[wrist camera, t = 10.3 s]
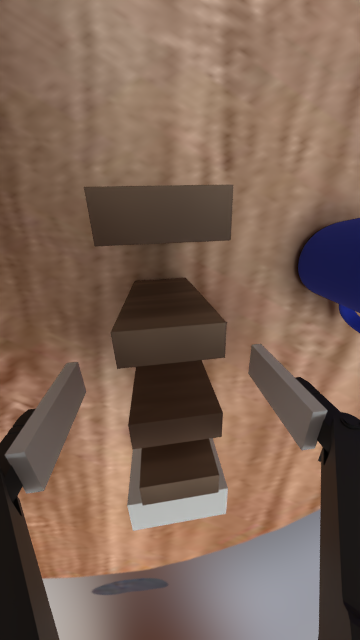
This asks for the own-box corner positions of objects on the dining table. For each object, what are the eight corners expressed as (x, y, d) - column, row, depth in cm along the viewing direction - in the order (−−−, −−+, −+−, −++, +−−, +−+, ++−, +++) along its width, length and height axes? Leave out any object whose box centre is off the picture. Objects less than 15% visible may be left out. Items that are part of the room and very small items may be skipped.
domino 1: (127, 221, 18) (83, 187, 6) (184, 219, 18) (233, 184, 7) (130, 243, 18) (94, 246, 7) (184, 241, 19) (230, 240, 8)
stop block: (135, 420, 26) (127, 505, 17) (204, 411, 27) (227, 488, 18) (139, 442, 27) (133, 530, 19) (204, 433, 28) (225, 513, 20)
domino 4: (145, 370, 23) (139, 488, 12) (188, 366, 24) (219, 475, 13) (147, 383, 24) (142, 505, 13) (188, 378, 24) (218, 492, 13)
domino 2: (134, 281, 20) (110, 332, 8) (185, 277, 20) (226, 322, 9) (136, 299, 20) (117, 368, 9) (186, 295, 21) (224, 357, 10)
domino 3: (187, 340, 23) (221, 436, 12) (142, 345, 22) (132, 449, 11) (187, 326, 22) (222, 412, 11) (141, 330, 21) (128, 425, 10)
